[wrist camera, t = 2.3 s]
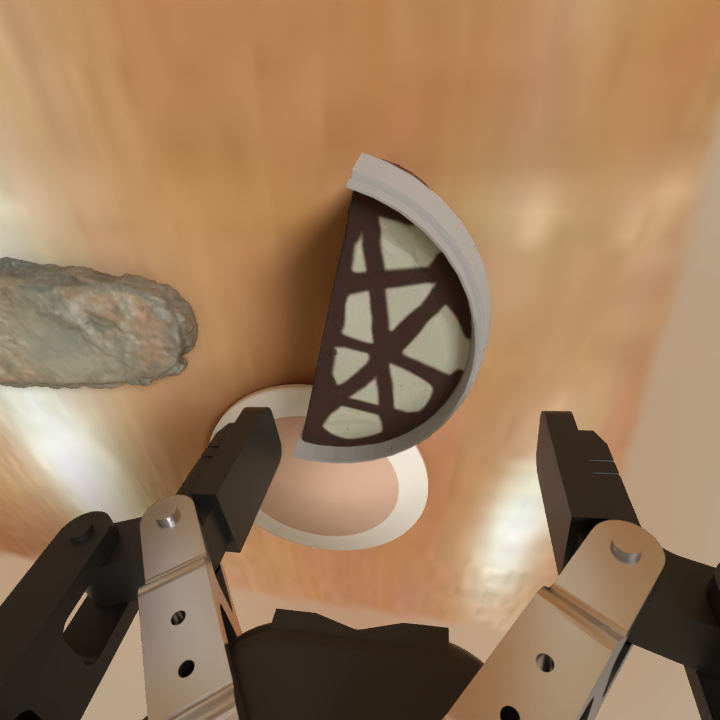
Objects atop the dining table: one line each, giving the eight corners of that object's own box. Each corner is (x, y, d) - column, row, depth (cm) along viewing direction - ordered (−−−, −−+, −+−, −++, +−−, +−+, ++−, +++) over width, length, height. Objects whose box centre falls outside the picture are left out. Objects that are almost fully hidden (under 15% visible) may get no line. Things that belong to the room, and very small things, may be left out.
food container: (434, 372, 27) (429, 505, 19) (337, 345, 28) (290, 465, 19) (519, 160, 20) (568, 225, 12) (389, 124, 21) (350, 164, 12)
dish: (247, 529, 39) (240, 545, 38) (188, 379, 31) (176, 393, 30) (432, 541, 36) (432, 558, 35) (423, 377, 28) (421, 392, 26)
